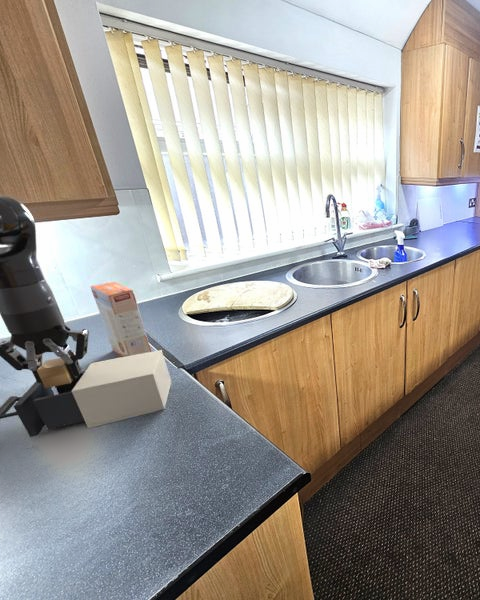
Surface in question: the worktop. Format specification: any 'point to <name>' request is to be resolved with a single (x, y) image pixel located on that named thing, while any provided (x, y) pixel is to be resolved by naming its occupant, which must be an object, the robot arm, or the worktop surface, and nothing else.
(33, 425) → the dark grey drawer
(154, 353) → the cream rectangular box
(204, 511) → the worktop surface
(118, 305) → the cracker box
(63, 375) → the block
